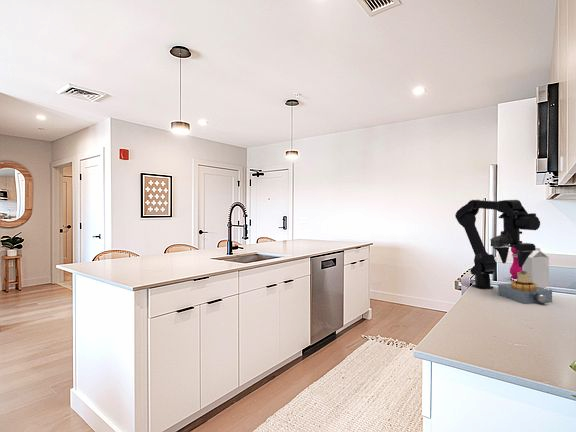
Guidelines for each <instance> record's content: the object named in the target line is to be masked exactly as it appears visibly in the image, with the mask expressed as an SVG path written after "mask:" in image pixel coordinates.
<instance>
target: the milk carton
mask: <svg viewBox="0 0 576 432" xmlns="http://www.w3.org/2000/svg"><path fill="white" fill-rule="evenodd" d="M535 249H536V250H535V251H533V252H531V254H530V255H529V256H528V258H527V259H526V261H525V263H524V264H523V266H522V270H523V271H526V272H527V273H530V282H533V283H536V284H537V287H541V288H546V287H549V288H550V269H549V268H550V265H549V264H550V261H549V260H550V258H549V256H548V255H547V254H546V253H544V252H542V251H541V248H540V247H535Z"/></svg>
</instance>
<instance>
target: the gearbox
mask: <svg viewBox="0 0 576 432" xmlns="http://www.w3.org/2000/svg"><path fill="white" fill-rule="evenodd" d="M497 294H498V296H502V297H505V298H507V299H510V300H513V301H515V302H518V303H521V304H523V305H524V304H528V305H529V304H541V303H542V304H547V303H552V302H553V290H551V289H549V290H548V289H544V288H541V287H537V284H536V283H533V282H530V285H522V284H517V281H512V280H511V282H510V283H498V284H497Z"/></svg>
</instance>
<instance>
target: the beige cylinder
mask: <svg viewBox="0 0 576 432" xmlns="http://www.w3.org/2000/svg"><path fill="white" fill-rule="evenodd" d="M517 284H522V285H530V273H527V272H526V271H521V272H517Z"/></svg>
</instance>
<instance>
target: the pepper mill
mask: <svg viewBox="0 0 576 432" xmlns="http://www.w3.org/2000/svg"><path fill="white" fill-rule="evenodd" d="M513 246H514V245H513ZM510 251H511V253H512V254H511V256H512V264H511V266H510V267H509V274H510V275H511V276H510V279H511V278H513V279H517V272H521V271H523V270H522V267H519V264H518V255H517V253H516V252H515V251H517V250H516V249H515V248H513V247H510Z"/></svg>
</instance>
